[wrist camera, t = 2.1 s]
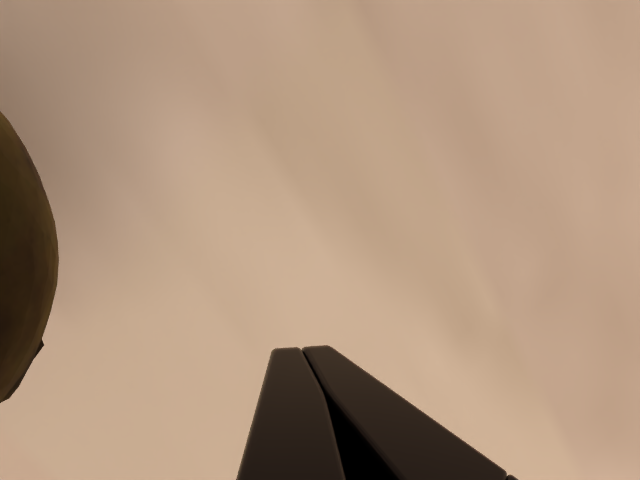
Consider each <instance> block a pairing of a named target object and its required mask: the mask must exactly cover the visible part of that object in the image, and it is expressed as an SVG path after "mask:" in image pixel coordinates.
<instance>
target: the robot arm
mask: <svg viewBox="0 0 640 480" xmlns="http://www.w3.org/2000/svg"><path fill="white" fill-rule="evenodd" d="M236 480H518V479H517V478H515V477H514V476H512V475H508V476H507V473H506V471H505V470H504V469H502V468H501V467H499V466H498V465H497V464H495V463H494V462H492V461H491V460H490V459H488V458H487V457H485V456H484V455H483V454H481V453H480V452H478V451H477V450H476V449H474V448H473V447H471V446H470V445H468V444H467V443H466V442H464V441H463V440H461V439H460V438H459V437H457V436H456V435H454V434H453V433H452V432H450V431H449V430H447V429H446V428H445V427H443V426H442V425H440V424H439V423H438V422H436V421H435V420H433V419H432V418H431V417H429V416H428V415H426V414H425V413H424V412H422V411H421V410H419V409H418V408H416V407H415V406H414V405H412V404H411V403H409V402H408V401H407V400H405V399H404V398H402V397H401V396H400V395H398V394H397V393H395V392H394V391H393V390H391V389H390V388H388V387H387V386H386V385H384V384H383V383H381V382H380V381H379V380H377V379H376V378H374V377H373V376H371V375H370V374H369V373H367V372H366V371H364V370H363V369H362V368H360V367H359V366H357V365H356V364H355V363H353V362H352V361H350V360H349V359H348V358H346V357H345V356H343V355H342V354H341V353H339V352H338V351H336V350H335V349H334V348H332V347H330V346H327V345H324V346H309V347H304V348H302V350H301V349H300V348H297V347H293V348H277V349H274V350H273V351H272V352H271V356H270V359H269V363H268V367H267V370H266V374H265V377H264V381H263V385H262V388H261V392H260V396H259V399H258V403H257V406H256V410H255V414H254V417H253V421H252V425H251V428H250V432H249V435H248V439H247V443H246V446H245V450H244V454H243V457H242V461H241V464H240V468H239V472H238V475H237V479H236Z"/></svg>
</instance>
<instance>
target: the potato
mask: <svg viewBox="0 0 640 480" xmlns="http://www.w3.org/2000/svg"><path fill="white" fill-rule="evenodd" d="M58 263H59V256H58V241H57V234H56V227H55V221H54V218H53V214H52V211H51V207H50V204H49V201H48V199H47V196H46V193H45V190H44V187H43V185H42V182H41V179H40V176H39V174H38V172H37V170H36V168H35V166H34V164H33V162H32V160H31V158H30V156H29V153H28V151H27V149H26V147H25V146H24V144H23V143H22V141H21V140H20V138H19V136H18V135H17V133H16V132H15V130H14V129H13V127H12V125H11V124H10V122H9V121H8V120H7V118H6V117H5V116H4V115H3V114H2V113H1V112H0V403H1V402H3V401H5V400H7V399H9V398H10V397H11V395H12V394H13V393H14V392H15V390H16V389H17V388H18V387H19V385H20V383H21V381H22V379H23V378H24V376H25V374H26V372H27V370H28V368H29V367H30V365H31V363H32V361H33V359H34V358H35V357H36V355H37V354H38V353H39V351H40V350H41V348H42V347H43V346H44V344H43V341H42V336H43V333H44V330H45V327H46V324H47V321H48V318H49V315H50V312H51V308H52V304H53V299H54V295H55V291H56V287H57V278H58Z"/></svg>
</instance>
